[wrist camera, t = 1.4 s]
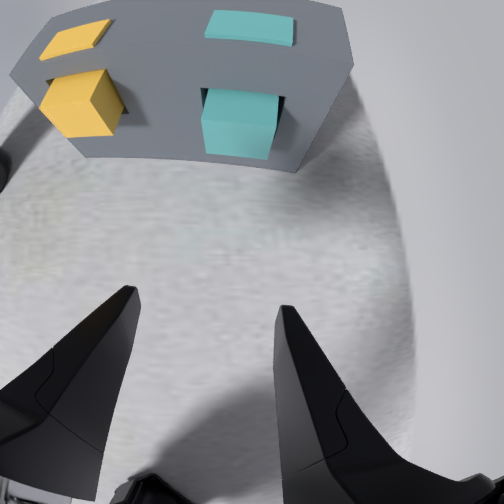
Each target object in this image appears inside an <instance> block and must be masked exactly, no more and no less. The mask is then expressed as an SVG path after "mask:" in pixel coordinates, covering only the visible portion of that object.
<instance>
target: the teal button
mask: <svg viewBox="0 0 504 504" xmlns="http://www.w3.org/2000/svg"><path fill="white" fill-rule="evenodd" d="M278 101H279V95H272V94H265V93H257V92H249V91H239V90H229V89H215V88H209V89H208V93H207V97H206V101H205V105H204V109H203V113H202V117H201V123H202V130H203V136H204V142H205V149H206V153H208V154H219V155H229V156H238V157H247V158H255V159H263V160H267V159H268V155H269V152H270V148H271V145H272V141H273V138H274V134H275V130H276V125H277V113H278Z"/></svg>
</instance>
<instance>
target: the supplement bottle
mask: <svg viewBox="0 0 504 504" xmlns="http://www.w3.org/2000/svg"><path fill="white" fill-rule="evenodd" d="M9 170H10V156H9V154H8V152H7V151H6V150H5V149H4V148H2V147H1V146H0V191H1V189H2V188H3V186H4V184H5V182H6V180H7V177H8V174H9Z"/></svg>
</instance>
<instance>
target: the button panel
mask: <svg viewBox="0 0 504 504" xmlns="http://www.w3.org/2000/svg"><path fill="white" fill-rule="evenodd" d="M353 66H354V63H353V58H352V52H351V47H350V42H349V38H348V33H347V29H346V24H345V20H344V16H343V12H342V9H341V8H338V7H335V6H331V5H327V4H323V3H319V2H314V1H310V0H111V1H106V2H102V3H98V4H94V5H90V6H87V7H83V8H80V9H76V10H73V11H70V12H67V13H64V14H61V15H58V16H56V17H53V18H51V19H50V20H49V21H48V23H47V24H46V25H45V26H44V28H43V29H42V30H41V31H40V32H39V34H38V35H37V36H36V37H35V39H34V40H33V41H32V43H31V44H30V45H29V47H28V48H27V49H26V51H25V52H24V54H23V55H22V56H21V58H20V59H19V61H18V62H17V64H16V65H15V67H14V68H13V70H12V71H11V73H10V75H9V76H10V77H11V78H12V79H13V80H14V81H15V83H16V84H17V85H18V86H19V87H20V88H21V89H22V91H23V92H24V93H25V94H26V95H27V96H28V97H29V98H30V100H31V101H32V102H33V103H34V104H35V105H36V106H37V107H38V108H39V107H40V105H41V103H42V101H43V99H44V97H45V95H46V93H47V91H48V89H49V88H50V86H51V84H52V82H53V80H54V79H55V78H57V77H62V76H66V75H71V74H76V73H82V72H87V71H93V70H100V69H107V71H108V73H109V75H110V77H111V79H112V81H113V83H114V85H115V87H116V89H117V91H118V93H119V95H120V97H121V99H122V100H123V102H124V104H125V106H124V108H123V111H122V113H121V116H120V119H119V121H118V124H117V127H116V130H115V133H114V135H113V136H90V137H73V138H67V139H68V140H69V141H70V142H71V143H72V144H73V145H74V146H75V147H76V148H77V149H78V150H79V151H80V152H81V154H82V155H83V156H84V157H85V158H86V157H122V158H155V159H174V160H189V161H201V162H213V163H223V164H233V165H242V166H250V167H258V168H266V169H273V170H280V171H286V172H293V173H296V171H297V169H298V167H299V166H300V164H301V162H302V160H303V158H304V156H305V155H306V153H307V151H308V149H309V147H310V145H311V143H312V142H313V140H314V138H315V136H316V134H317V132H318V130H319V129H320V127H321V125H322V123H323V121H324V119H325V118H326V116H327V114H328V112H329V110H330V108H331V106H332V105H333V103H334V101H335V99H336V97H337V95H338V93H339V92H340V90H341V88H342V86H343V84H344V82H345V81H346V79H347V77H348V75H349V73H350V71H351V69H352V68H353ZM209 88H215V89H229V90H239V91H249V92H257V93H265V94H272V95H279V101H278V113H277V125H276V130H275V134H274V138H273V141H272V145H271V148H270V152H269V155H268V159H267V160H263V159H255V158H247V157H238V156H229V155H219V154H208V153H206V149H205V142H204V136H203V130H202V123H201V117H202V113H203V109H204V105H205V101H206V97H207V93H208V89H209ZM40 111H41V110H40ZM41 112H42V111H41ZM53 125H54V124H53ZM54 126H55V125H54ZM55 127H56V126H55Z"/></svg>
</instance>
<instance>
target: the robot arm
mask: <svg viewBox="0 0 504 504" xmlns="http://www.w3.org/2000/svg"><path fill="white" fill-rule="evenodd" d="M140 310H141V302H140V298H139V293H138V289H137V287H135V286H129V285H125V286H123V287H122V288H121V289H120V290H118V291H117V292H116V293H115V294H114V295H112V296H111V297H110V298H109V299H107V300H106V301H105V302H104V303H103V304H101V305H100V306H99V307H98V308H97V309H96V310H94V311H93V312H92V313H91V314H90V315H88V316H87V317H86V318H85V319H84V320H83V321H81V322H80V323H79V324H78V325H77V326H76V327H75V328H73V329H72V330H71V331H70V332H69V333H68V334H67V335H65V336H64V337H63V338H62V339H61V340H60V341H59V342H58V343H56V344H55V345H54V346H53V348H51V349H50V350H49V351H48V352H46V353H45V354H44V355H43V356H42V357H41V358H40V359H39V360H37V361H36V362H35V363H34V364H33V365H32V366H30V367H29V368H28V369H27V370H25V371H24V372H23V373H21V374H20V375H19V376H18V377H16V378H15V379H14V380H12V381H11V382H10V383H8V384H7V385H6V386H5V387H3V388H2V389H1V390H0V504H71V501H72V498H77V499H82V500H87V501H94V502H95V498H96V492H97V486H98V481H99V475H100V470H101V465H102V460H103V455H104V454H103V453H104V450H105V446H106V441H107V437H108V433H109V429H110V425H111V421H112V417H113V413H114V409H115V406H116V402H117V398H118V395H119V391H120V388H121V384H122V381H123V377H124V374H125V371H126V368H127V364H128V361H129V358H130V355H131V351H132V347H133V343H134V338H135V333H136V328H137V324H138V319H139V315H140ZM273 372H274V385H275V397H276V409H277V421H278V434H279V446H280V459H281V473H282V479H283V480H282V487H283V502H284V504H504V476H502V477H500V478H498V479H495V480H493V481H492V480H491V479H490V478H488V477H487V476H485V475H483V474H481V473H479V474H475V475H473V476H470V477H468V478H465V479H463V480H460V481H454V480H451V479H448V478H445V477H443V476H440V475H438V474H435V473H433V472H431V471H428V470H426V469H424V468H422V467H419V466H417V465H415V464H413V463H410V462H408V461H407V460H405V459H403V458H402V457H401V456H399V455H398V454H397V453H396V452H395V451H394V450H393V449H392V448H391V446H390V445H389V444H388V443H387V442H386V440H385V439H384V438H383V437H382V436H381V434H380V433H379V432H378V431H377V430H376V428H375V427H374V426H373V425H372V423H371V422H370V421H369V420H368V418H367V417H366V416H365V415H364V413H363V412H362V411H361V409H360V408H359V406H358V405H357V403H356V402H355V400H354V399H353V397H352V396H351V394H350V393H349V391H348V390H347V389H346V387H345V385H344V383H343V382H342V380H341V379H340V377H339V376H338V374H337V373H336V371H335V369H334V368H333V366H332V365H331V363H330V362H329V360H328V359H327V357H326V355H325V354H324V352H323V351H322V349H321V348H320V346H319V345H318V343H317V341H316V340H315V338H314V337H313V335H312V334H311V332H310V331H309V329H308V327H307V326H306V324H305V323H304V321H303V320H302V318H301V317H300V315H299V314H298V312H297V310H296V309H295V307H294V306H291V305H281V306H280V308H279V311H278V315H277V318H276V322H275V334H274V358H273ZM345 389H346V390H345ZM153 478H155V479H153ZM110 504H193V503H191V502H190V501H189V500H187V499H186V498H185V497H183V496H182V495H181V494H179V493H178V492H177V491H175V490H174V489H173V488H172V487H170V486H169V485H168V484H167V483H165V482H164V481H163V480H162V479H161V478H159V477H158V476H157V475H156V474H149V475H147V476H145V477H142V478H140V479H133V480H131V481H129V482H126V483H124V484H122V485H120V486H119V488H117V489H116V490H115V495H114V497H113V498H112V500H111V502H110Z"/></svg>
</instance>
